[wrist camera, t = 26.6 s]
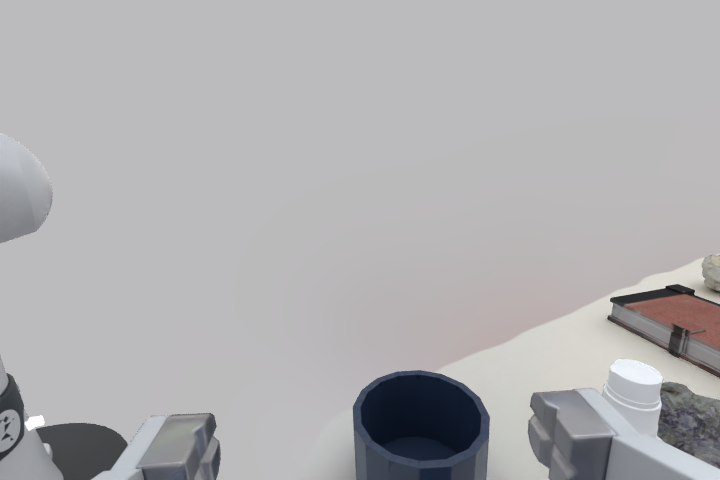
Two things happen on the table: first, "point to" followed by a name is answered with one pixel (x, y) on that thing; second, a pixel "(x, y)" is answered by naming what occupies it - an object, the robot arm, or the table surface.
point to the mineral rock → (690, 422)
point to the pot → (420, 429)
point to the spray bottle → (635, 394)
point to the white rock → (712, 272)
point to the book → (674, 323)
